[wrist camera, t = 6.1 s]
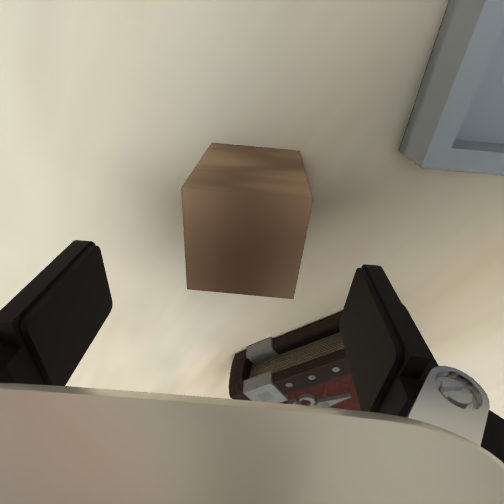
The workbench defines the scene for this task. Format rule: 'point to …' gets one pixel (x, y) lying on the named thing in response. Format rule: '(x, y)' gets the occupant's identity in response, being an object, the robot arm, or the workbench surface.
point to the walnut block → (246, 220)
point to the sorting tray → (462, 94)
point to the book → (297, 369)
